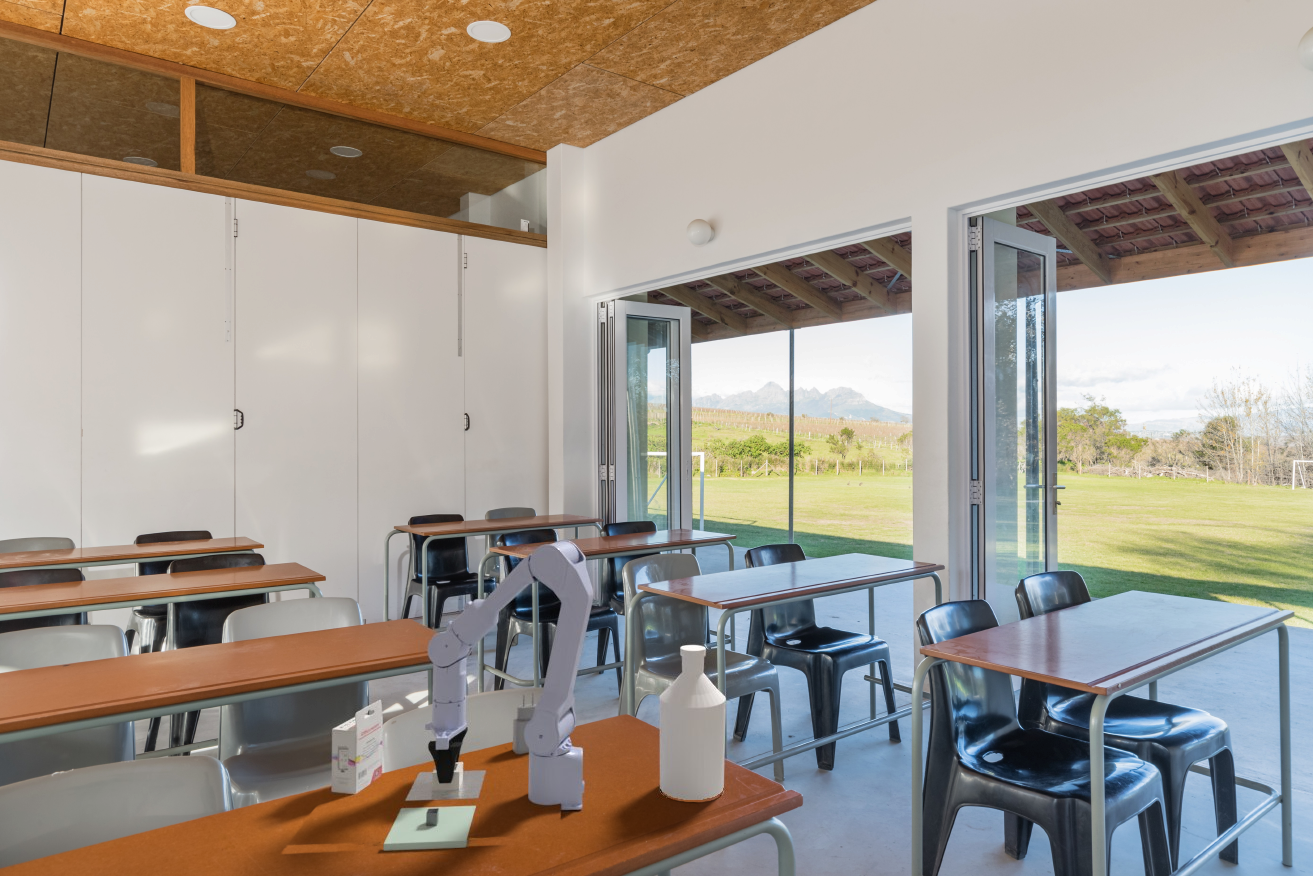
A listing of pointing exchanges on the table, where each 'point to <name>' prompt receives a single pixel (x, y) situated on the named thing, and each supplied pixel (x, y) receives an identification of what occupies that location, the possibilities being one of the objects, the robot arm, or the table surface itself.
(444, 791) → the grey stand plate
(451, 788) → the cream ring
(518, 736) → the power adapter
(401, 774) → the table surface
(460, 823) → the sage hub plate
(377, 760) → the ink cartridge box
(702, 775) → the bottle
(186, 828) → the table surface
